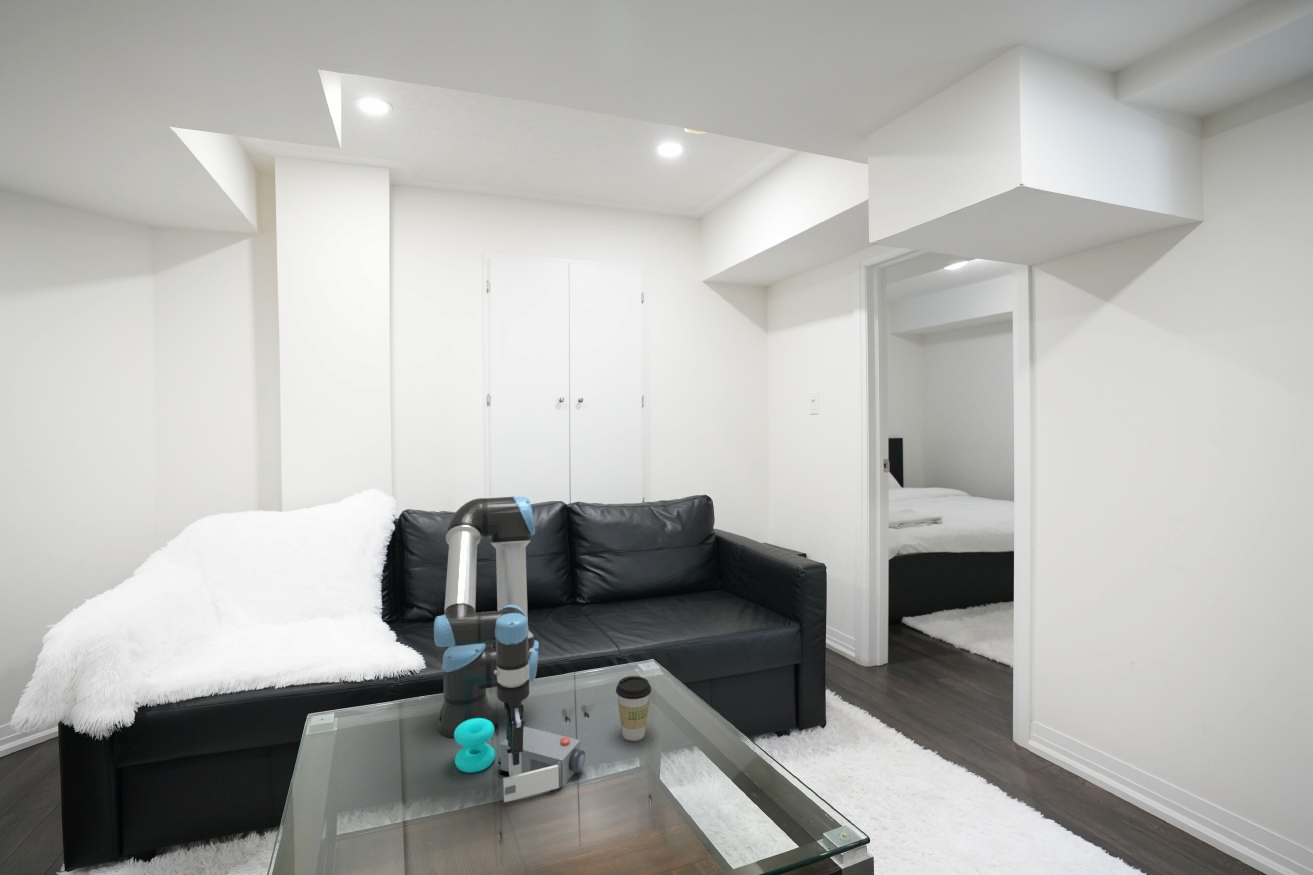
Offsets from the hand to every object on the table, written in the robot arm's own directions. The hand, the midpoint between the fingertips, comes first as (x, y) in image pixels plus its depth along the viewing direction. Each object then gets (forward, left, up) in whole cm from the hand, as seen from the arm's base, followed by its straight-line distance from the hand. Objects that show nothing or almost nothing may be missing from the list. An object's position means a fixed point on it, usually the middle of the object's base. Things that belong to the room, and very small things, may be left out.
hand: (515, 773), depth 153 cm
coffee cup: (+17, +33, -5) cm, 37 cm away
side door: (+5, 0, -4) cm, 6 cm away
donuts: (-16, +6, -5) cm, 18 cm away
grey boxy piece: (+2, +10, -5) cm, 11 cm away
